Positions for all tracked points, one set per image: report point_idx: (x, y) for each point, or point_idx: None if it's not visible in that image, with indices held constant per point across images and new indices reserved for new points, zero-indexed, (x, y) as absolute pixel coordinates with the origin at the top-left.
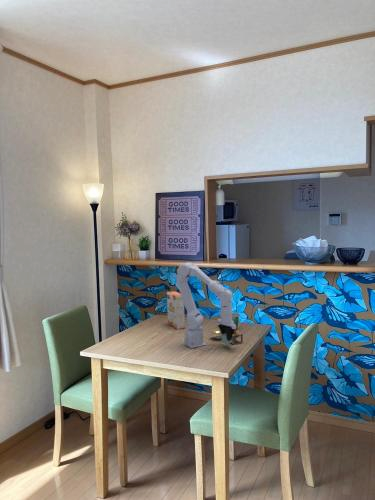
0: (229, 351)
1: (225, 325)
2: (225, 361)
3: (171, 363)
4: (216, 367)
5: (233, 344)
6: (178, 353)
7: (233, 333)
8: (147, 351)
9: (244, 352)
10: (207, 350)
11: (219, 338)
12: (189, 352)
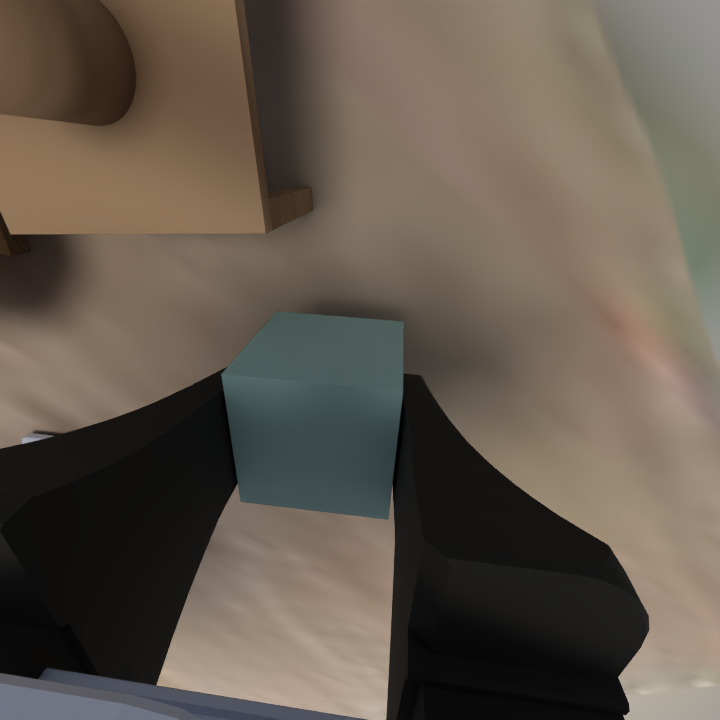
0: (483, 400)
1: (90, 602)
2: (651, 569)
3: None
4: (669, 653)
5: (310, 200)
6: (259, 640)
7: (119, 105)
8: None
9: (673, 286)
10: (313, 514)
11: (1, 224)
12: (278, 603)
